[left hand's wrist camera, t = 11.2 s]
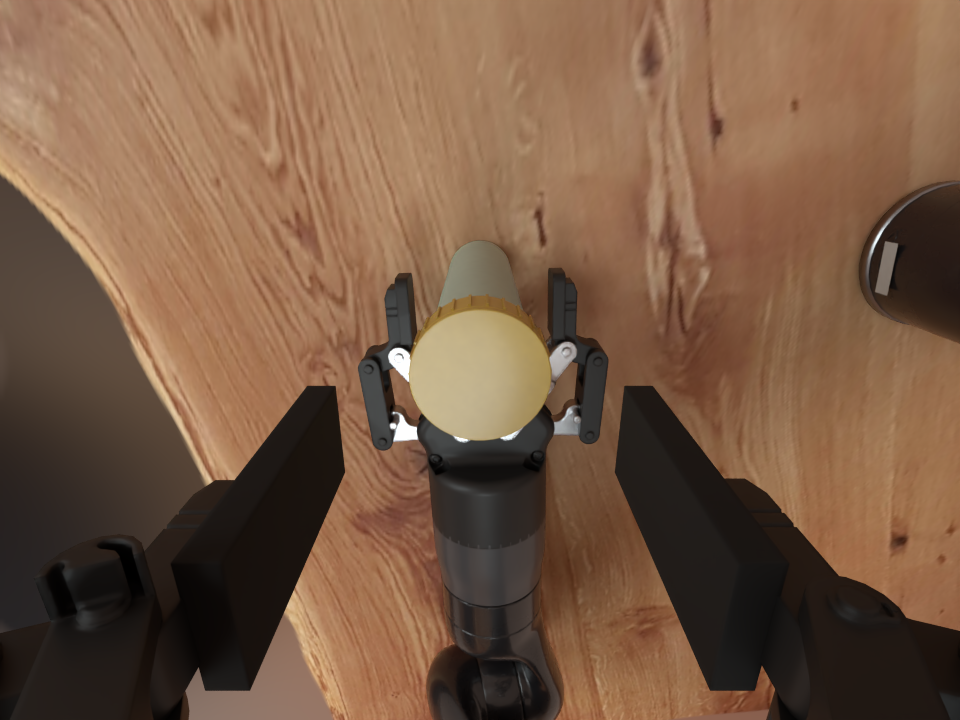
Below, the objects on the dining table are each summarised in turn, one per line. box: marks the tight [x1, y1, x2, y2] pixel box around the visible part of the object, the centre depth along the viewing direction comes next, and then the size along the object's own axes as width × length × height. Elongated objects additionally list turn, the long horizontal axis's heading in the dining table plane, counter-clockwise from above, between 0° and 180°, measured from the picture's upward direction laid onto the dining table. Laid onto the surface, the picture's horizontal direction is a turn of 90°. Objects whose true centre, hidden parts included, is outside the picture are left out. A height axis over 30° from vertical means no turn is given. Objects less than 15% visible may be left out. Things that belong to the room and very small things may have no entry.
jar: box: [437, 240, 523, 310], centre depth 27 cm, size 4×4×18 cm
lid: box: [408, 294, 552, 441], centre depth 19 cm, size 5×5×2 cm
